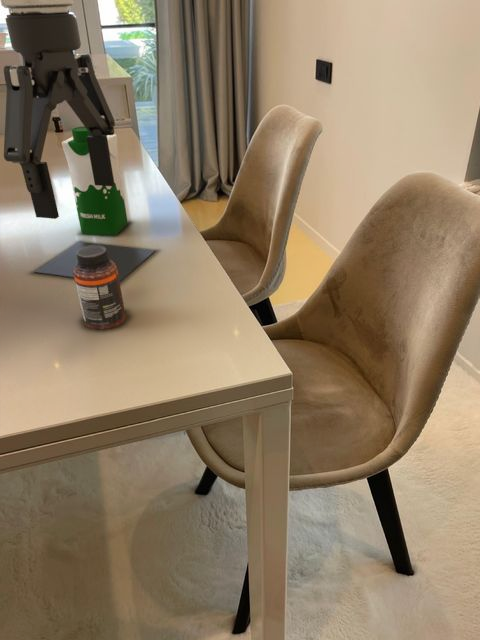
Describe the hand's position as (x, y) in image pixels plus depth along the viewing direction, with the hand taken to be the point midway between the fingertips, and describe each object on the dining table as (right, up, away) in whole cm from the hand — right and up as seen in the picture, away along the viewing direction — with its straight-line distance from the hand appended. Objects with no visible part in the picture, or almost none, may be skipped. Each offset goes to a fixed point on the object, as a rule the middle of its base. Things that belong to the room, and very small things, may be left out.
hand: (78, 200), depth 73 cm
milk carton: (-8, +4, +40) cm, 41 cm away
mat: (-5, -4, +26) cm, 27 cm away
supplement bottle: (+1, -16, +9) cm, 18 cm away
